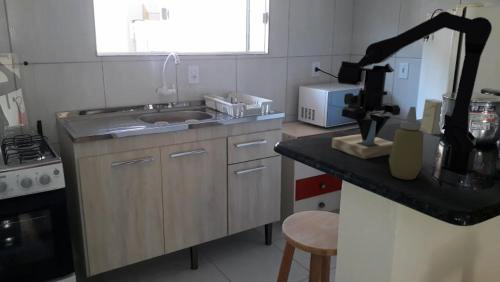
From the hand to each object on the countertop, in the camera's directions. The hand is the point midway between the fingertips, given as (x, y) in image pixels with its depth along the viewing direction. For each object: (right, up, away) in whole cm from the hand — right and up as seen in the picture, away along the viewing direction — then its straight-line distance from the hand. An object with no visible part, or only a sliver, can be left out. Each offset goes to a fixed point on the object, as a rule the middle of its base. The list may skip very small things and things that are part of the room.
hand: (368, 139), depth 124 cm
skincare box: (+32, +2, +31) cm, 44 cm away
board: (0, -3, +5) cm, 6 cm away
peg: (0, -2, +1) cm, 2 cm away
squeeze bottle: (+4, -10, -18) cm, 21 cm away
